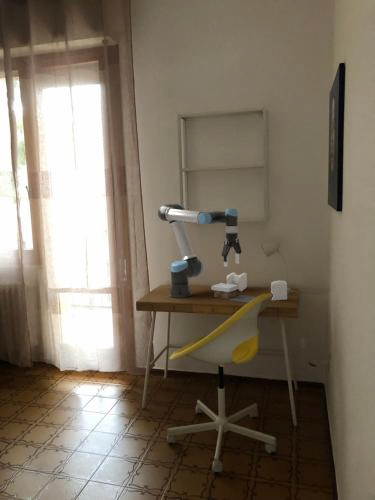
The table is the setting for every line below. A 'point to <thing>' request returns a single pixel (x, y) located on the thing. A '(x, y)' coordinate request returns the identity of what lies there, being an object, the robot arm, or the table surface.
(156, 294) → the table surface
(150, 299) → the table surface
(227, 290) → the cover plate
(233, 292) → the walnut box
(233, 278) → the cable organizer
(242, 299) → the rubber mat
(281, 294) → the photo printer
